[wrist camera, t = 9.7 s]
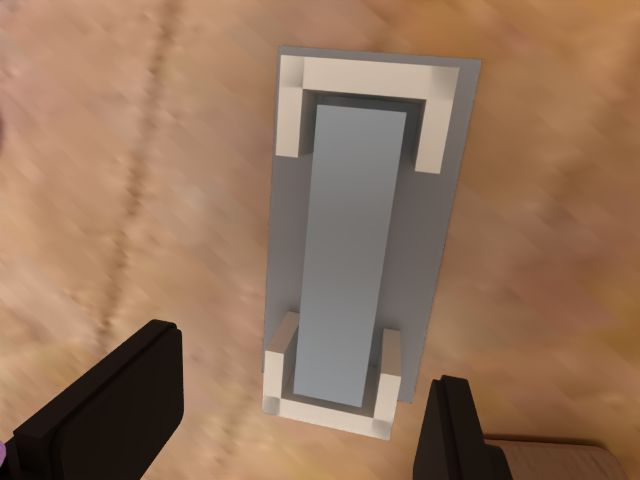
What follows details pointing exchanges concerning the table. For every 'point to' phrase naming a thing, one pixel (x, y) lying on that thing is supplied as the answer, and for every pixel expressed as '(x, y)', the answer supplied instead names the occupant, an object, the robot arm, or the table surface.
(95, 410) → the robot arm
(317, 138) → the blue-grey rectangular bar
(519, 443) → the wooden block
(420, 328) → the endcap board
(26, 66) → the table surface
